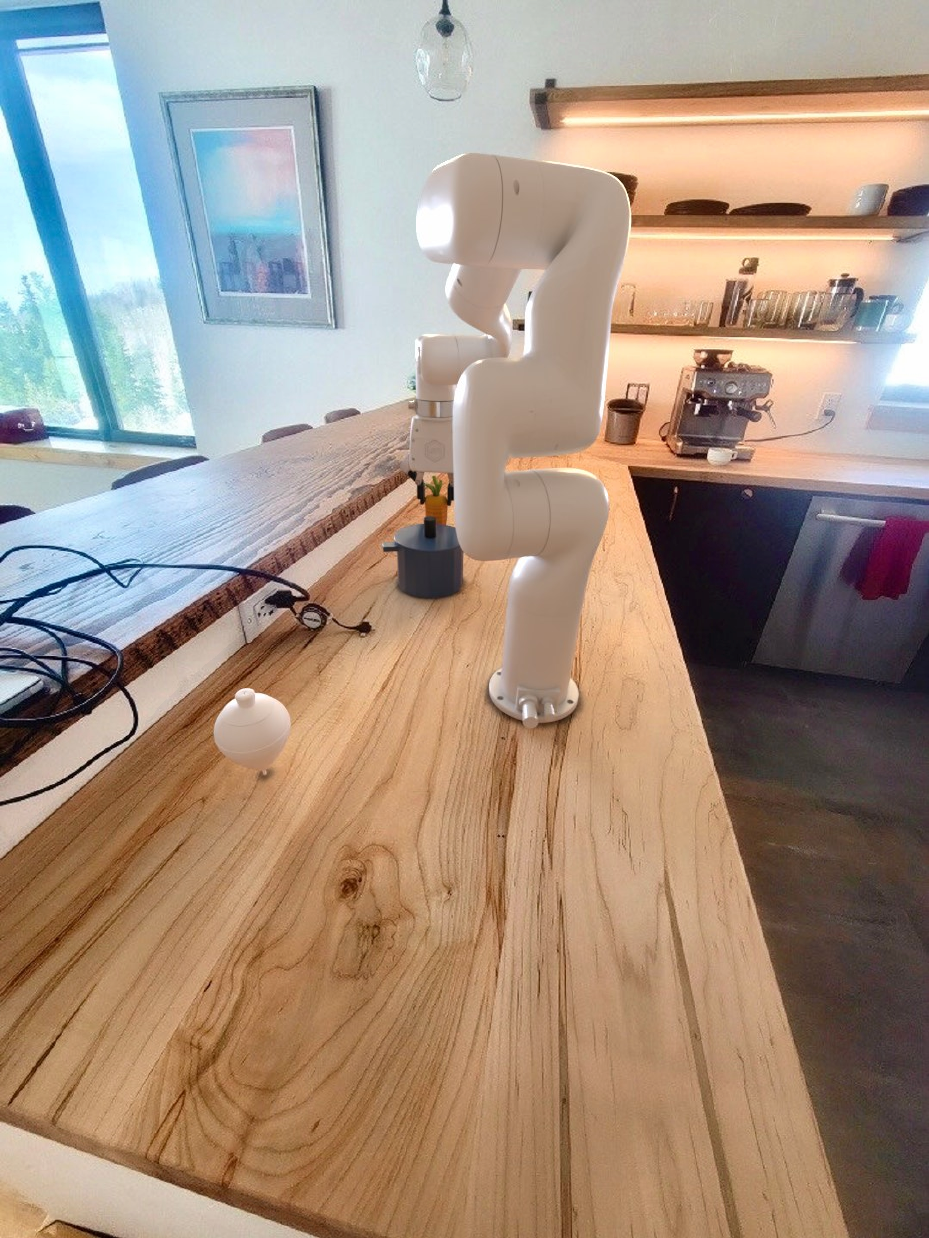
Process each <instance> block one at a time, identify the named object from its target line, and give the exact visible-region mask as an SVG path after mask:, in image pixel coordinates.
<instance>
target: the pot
mask: <svg viewBox="0 0 929 1238" xmlns="http://www.w3.org/2000/svg"><path fill="white" fill-rule="evenodd" d="M381 547H382V551H383V553H391V552H396V560H397V562H396V563H397V581H398V587H399V589H400V590H401V591H402V592H404V593H405V594H407V595H409V596H412V597H416V598H420V599H421V598H422V599H440V598H445V597H448V596H451V595H454V594H456V593H457V592H458V591H460V590H461V588H462V586H463V582H464V555H465V553H464V552H463V550H462V549H461V547H459V548H457V549H454V550H451V551H446V552H439V553H423V552H415V551H410V550H407V549H404V548H402V547H400V546H398V545H397V544H396V543H395V541H383V542H382V543H381Z"/></svg>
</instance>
